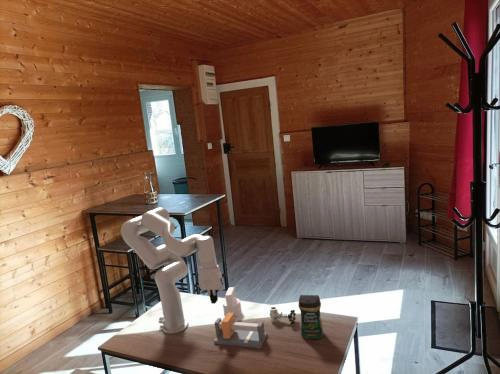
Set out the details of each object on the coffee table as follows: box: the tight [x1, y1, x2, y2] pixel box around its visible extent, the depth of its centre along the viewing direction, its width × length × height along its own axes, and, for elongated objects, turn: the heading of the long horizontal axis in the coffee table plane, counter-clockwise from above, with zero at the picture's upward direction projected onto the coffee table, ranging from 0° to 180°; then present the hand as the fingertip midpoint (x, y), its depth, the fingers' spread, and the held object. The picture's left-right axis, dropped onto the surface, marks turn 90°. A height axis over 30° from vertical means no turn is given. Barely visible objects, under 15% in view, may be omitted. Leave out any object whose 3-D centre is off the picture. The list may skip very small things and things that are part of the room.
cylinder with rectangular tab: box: [222, 286, 242, 318], centre depth 194 cm, size 9×9×12 cm
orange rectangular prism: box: [221, 312, 236, 339], centre depth 171 cm, size 3×8×8 cm, turn 160°
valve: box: [269, 306, 297, 325], centre depth 180 cm, size 7×7×12 cm
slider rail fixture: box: [213, 317, 268, 349], centre depth 169 cm, size 22×10×8 cm, turn 70°
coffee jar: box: [298, 294, 324, 340], centre depth 165 cm, size 10×8×19 cm
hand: (214, 302), depth 171 cm, fingers closed
